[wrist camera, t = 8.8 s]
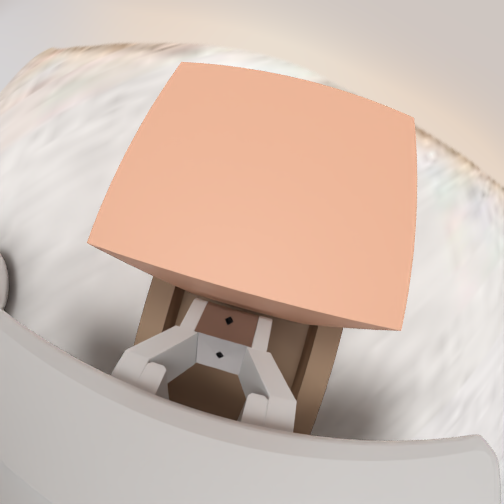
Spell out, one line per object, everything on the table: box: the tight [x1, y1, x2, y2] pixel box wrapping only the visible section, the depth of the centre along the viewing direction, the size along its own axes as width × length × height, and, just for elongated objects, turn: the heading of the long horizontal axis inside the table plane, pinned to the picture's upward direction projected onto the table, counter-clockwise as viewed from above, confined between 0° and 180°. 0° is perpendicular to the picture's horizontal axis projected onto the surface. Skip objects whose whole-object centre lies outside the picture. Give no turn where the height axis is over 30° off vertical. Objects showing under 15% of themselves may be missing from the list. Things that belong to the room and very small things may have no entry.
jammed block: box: [87, 62, 417, 331], centre depth 10 cm, size 5×6×10 cm
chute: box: [134, 276, 343, 435], centre depth 13 cm, size 24×9×4 cm, turn 164°
